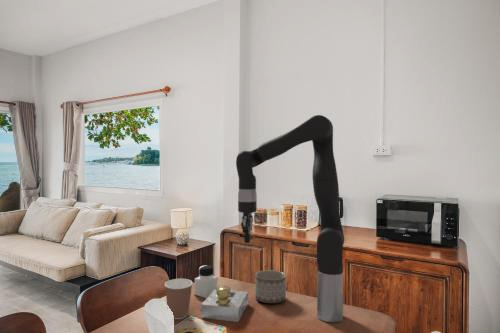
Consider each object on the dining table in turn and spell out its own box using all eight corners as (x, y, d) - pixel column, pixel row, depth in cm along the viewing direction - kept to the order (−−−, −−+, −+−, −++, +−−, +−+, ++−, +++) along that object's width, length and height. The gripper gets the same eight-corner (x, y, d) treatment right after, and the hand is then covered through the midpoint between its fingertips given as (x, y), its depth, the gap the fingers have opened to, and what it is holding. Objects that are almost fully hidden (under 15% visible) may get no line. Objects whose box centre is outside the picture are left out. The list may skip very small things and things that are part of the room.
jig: (247, 304, 139) (248, 291, 139) (238, 322, 124) (238, 308, 124) (214, 300, 142) (214, 288, 142) (201, 317, 127) (201, 304, 127)
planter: (274, 308, 136) (275, 282, 136) (249, 300, 143) (249, 275, 143) (291, 298, 146) (291, 274, 146) (266, 291, 153) (266, 268, 153)
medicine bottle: (217, 293, 151) (217, 265, 150) (207, 298, 145) (207, 270, 144) (204, 289, 154) (205, 263, 154) (194, 294, 148) (194, 267, 148)
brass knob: (231, 312, 132) (232, 286, 131) (227, 318, 126) (228, 291, 126) (218, 311, 133) (218, 285, 133) (213, 317, 127) (214, 290, 127)
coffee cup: (176, 307, 136) (176, 276, 135) (197, 312, 131) (198, 281, 131) (158, 317, 126) (158, 285, 126) (181, 324, 122) (181, 290, 122)
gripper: (253, 202, 134) (253, 246, 134) (259, 198, 147) (259, 239, 147) (234, 201, 135) (234, 246, 135) (241, 198, 148) (241, 238, 148)
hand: (247, 242), depth 141 cm, fingers closed
